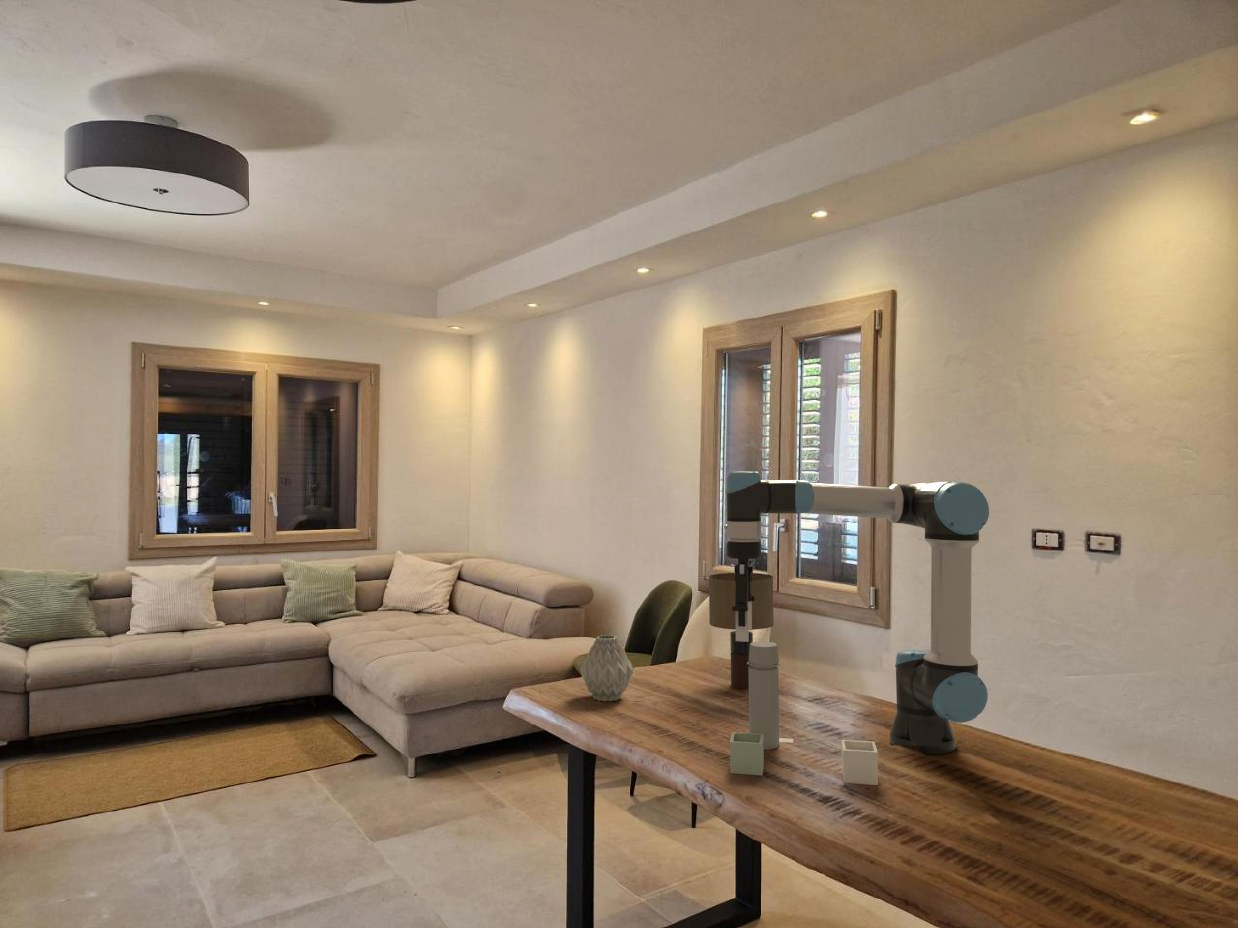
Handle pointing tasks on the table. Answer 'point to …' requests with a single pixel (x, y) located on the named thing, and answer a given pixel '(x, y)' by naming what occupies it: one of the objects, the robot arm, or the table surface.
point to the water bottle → (764, 692)
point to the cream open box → (859, 762)
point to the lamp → (724, 617)
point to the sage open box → (747, 753)
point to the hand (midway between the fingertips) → (744, 635)
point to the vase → (607, 669)
